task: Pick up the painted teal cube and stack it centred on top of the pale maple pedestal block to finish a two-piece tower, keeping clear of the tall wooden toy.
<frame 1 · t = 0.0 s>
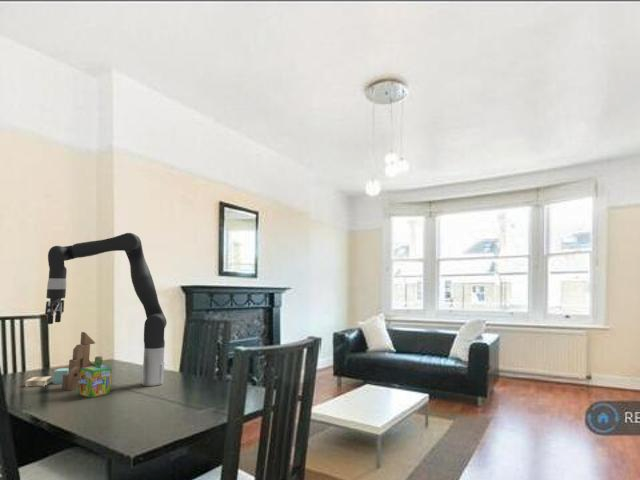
hand: (53, 323, 191), 29 cm above the table, fingers open, 8 cm apart
teal cube: (62, 382, 199), on the table
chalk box: (94, 394, 179), on the table
wooden toy: (82, 386, 191), on the table
maple pedestal: (38, 385, 194), on the table
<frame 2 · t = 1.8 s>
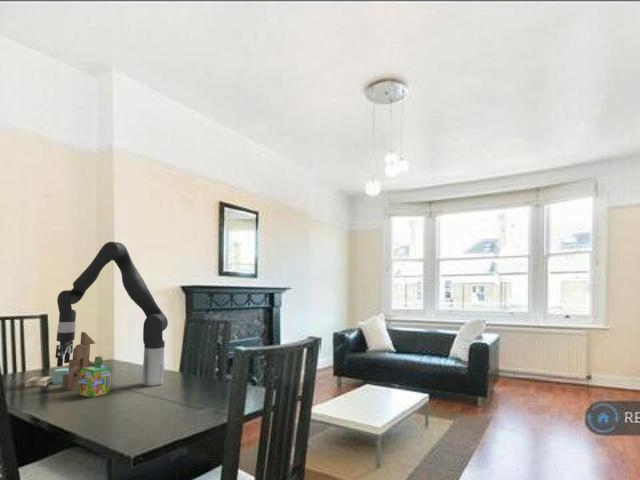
hand: (63, 364, 199), 8 cm above the table, fingers open, 8 cm apart
nothing on the table moved.
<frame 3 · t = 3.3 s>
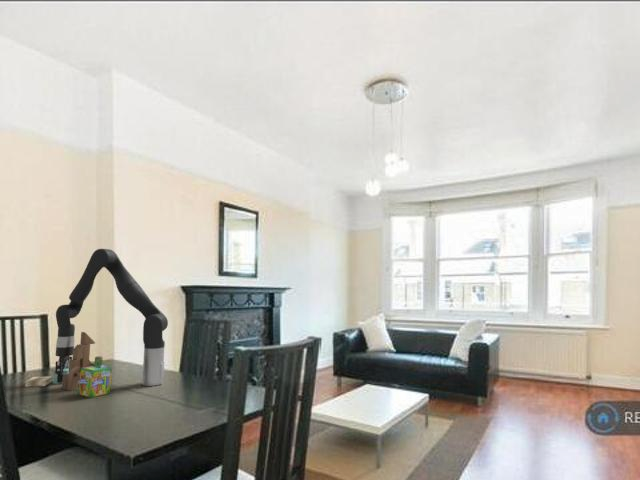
hand: (62, 380, 199), 1 cm above the table, fingers closed on teal cube, 6 cm apart
teal cube: (62, 382, 199), on the table, touching gripper
everything else where it was.
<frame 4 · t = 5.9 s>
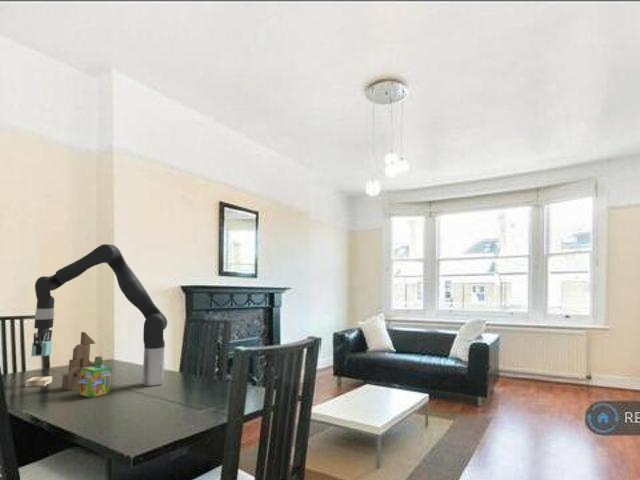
hand: (41, 353, 195), 14 cm above the table, fingers closed on teal cube, 6 cm apart
teal cube: (41, 354, 195), point 14 cm above the table, touching gripper
everything else where it was.
when the fingers open (5 cm above the table, at t = 8.4 s): teal cube drops 2 cm, resting on maple pedestal.
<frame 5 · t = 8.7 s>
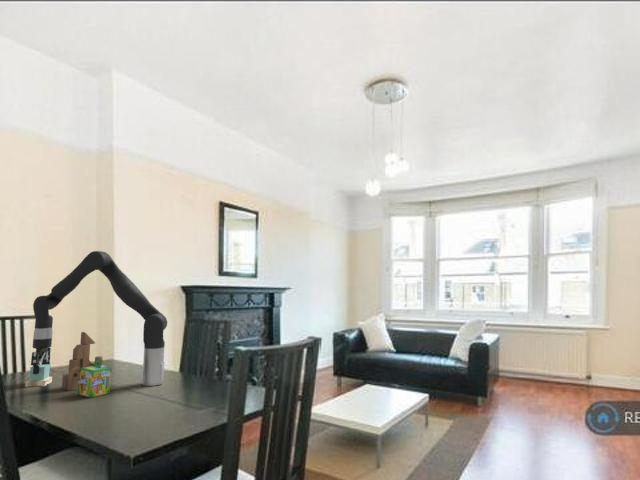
hand: (39, 372, 194), 6 cm above the table, fingers open, 8 cm apart
teal cube: (39, 378, 194), point 2 cm above the table, touching maple pedestal
maple pedestal: (38, 385, 194), on the table, touching teal cube
everything else where it was.
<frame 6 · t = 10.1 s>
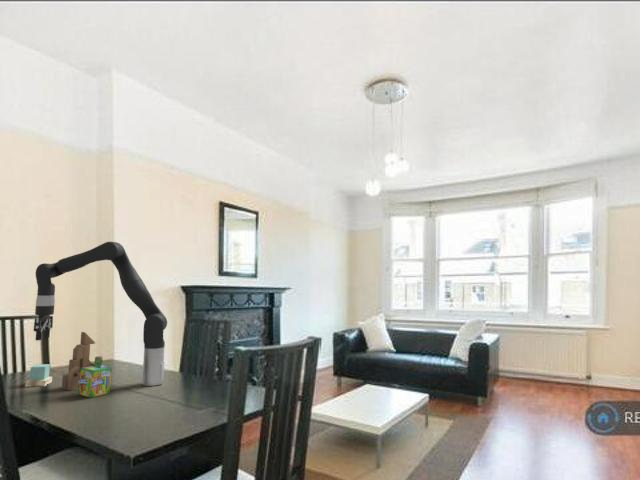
hand: (42, 339, 196), 21 cm above the table, fingers open, 8 cm apart
teal cube: (39, 378, 194), point 3 cm above the table
maple pedestal: (38, 385, 194), on the table
everything else where it was.
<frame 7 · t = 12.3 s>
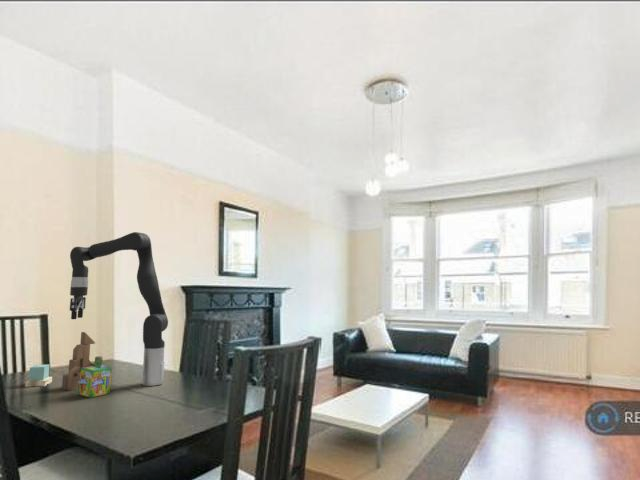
hand: (76, 318, 206), 30 cm above the table, fingers open, 8 cm apart
nothing on the table moved.
at the end: teal cube 0.1 cm off-centre on the maple pedestal, point 3.0 cm above the maple pedestal's base; teal cube tilted 0°; the gripper is holding nothing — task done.
